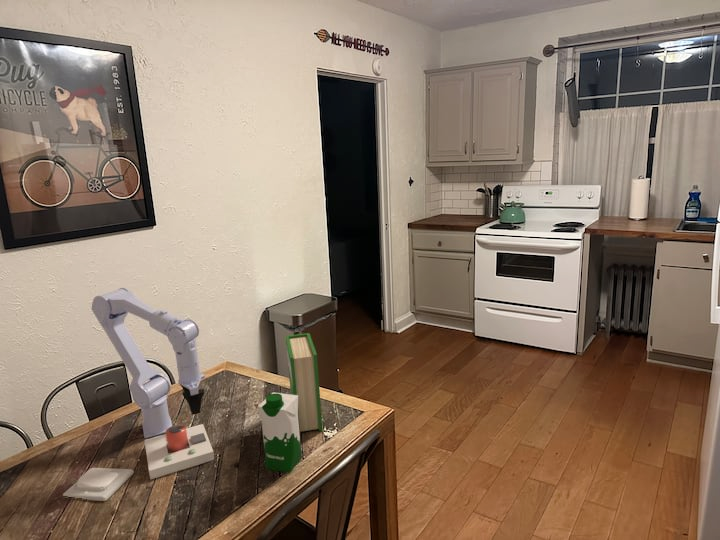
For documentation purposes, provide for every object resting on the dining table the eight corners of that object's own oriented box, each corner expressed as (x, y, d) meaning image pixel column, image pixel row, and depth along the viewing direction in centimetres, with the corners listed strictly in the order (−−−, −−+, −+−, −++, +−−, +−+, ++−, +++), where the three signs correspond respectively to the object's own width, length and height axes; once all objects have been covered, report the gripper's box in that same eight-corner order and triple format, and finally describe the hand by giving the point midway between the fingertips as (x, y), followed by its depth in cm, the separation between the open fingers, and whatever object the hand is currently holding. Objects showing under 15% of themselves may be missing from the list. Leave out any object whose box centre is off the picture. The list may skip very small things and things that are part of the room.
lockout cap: (167, 444, 135) (164, 426, 134) (186, 438, 138) (184, 421, 136) (169, 453, 131) (166, 435, 130) (189, 447, 133) (187, 430, 132)
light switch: (89, 459, 129) (131, 460, 127) (92, 473, 130) (135, 474, 128) (57, 486, 119) (102, 488, 116) (61, 501, 120) (106, 503, 117)
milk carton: (261, 470, 126) (253, 399, 121) (277, 450, 134) (271, 383, 130) (291, 476, 123) (285, 403, 118) (307, 455, 131) (301, 386, 127)
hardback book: (322, 431, 142) (316, 354, 137) (297, 435, 141) (290, 358, 135) (314, 402, 159) (309, 333, 153) (291, 406, 158) (285, 335, 152)
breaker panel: (145, 447, 138) (144, 438, 138) (203, 431, 145) (202, 422, 145) (150, 479, 124) (148, 468, 124) (214, 459, 131) (213, 449, 131)
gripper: (207, 369, 133) (213, 414, 136) (198, 351, 145) (203, 393, 148) (179, 375, 130) (186, 421, 133) (173, 357, 142) (179, 399, 145)
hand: (194, 407), depth 140 cm, fingers open, 7 cm apart
